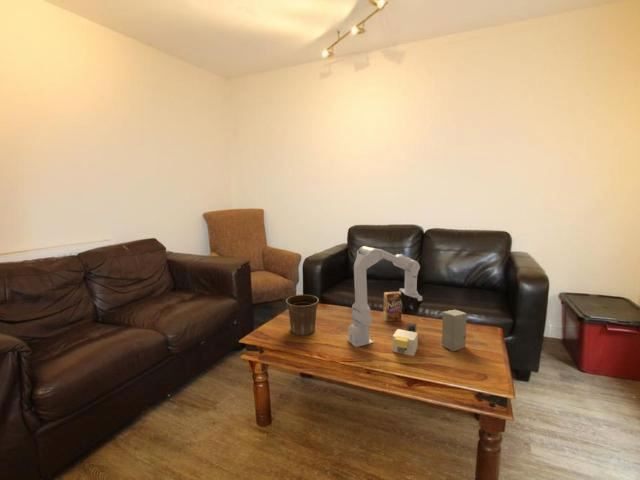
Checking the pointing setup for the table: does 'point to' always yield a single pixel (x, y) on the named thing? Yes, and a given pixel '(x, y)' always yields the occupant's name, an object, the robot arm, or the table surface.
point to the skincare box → (454, 329)
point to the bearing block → (412, 341)
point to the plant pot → (302, 313)
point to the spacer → (401, 342)
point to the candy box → (392, 306)
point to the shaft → (409, 327)
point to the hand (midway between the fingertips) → (410, 310)
